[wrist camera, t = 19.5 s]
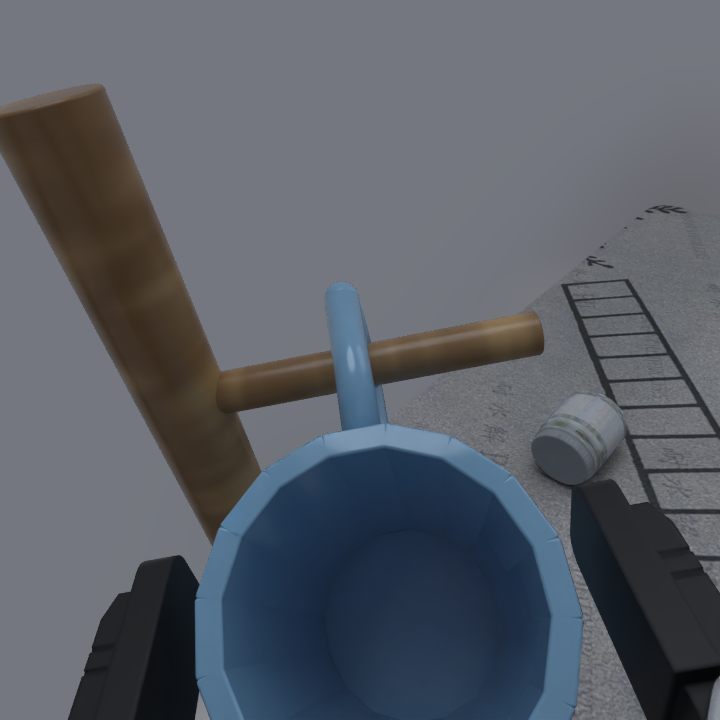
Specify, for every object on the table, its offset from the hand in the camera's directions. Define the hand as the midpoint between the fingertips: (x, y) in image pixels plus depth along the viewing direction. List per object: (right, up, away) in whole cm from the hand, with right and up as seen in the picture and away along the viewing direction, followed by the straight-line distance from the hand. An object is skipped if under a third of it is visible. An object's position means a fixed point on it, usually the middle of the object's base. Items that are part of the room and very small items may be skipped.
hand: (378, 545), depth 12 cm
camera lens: (+18, -5, +40) cm, 44 cm away
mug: (+1, -3, +8) cm, 8 cm away
